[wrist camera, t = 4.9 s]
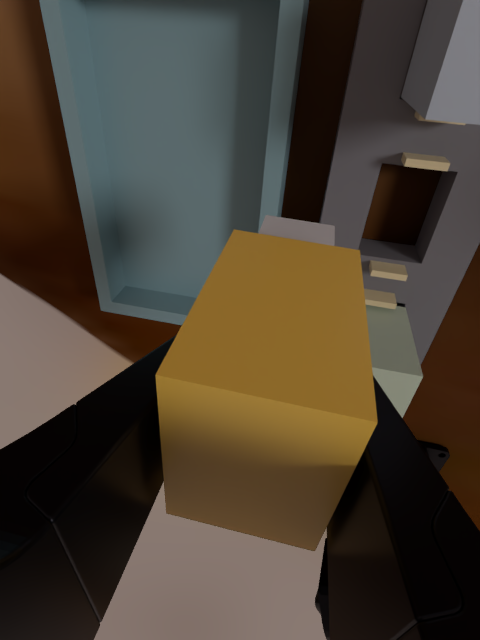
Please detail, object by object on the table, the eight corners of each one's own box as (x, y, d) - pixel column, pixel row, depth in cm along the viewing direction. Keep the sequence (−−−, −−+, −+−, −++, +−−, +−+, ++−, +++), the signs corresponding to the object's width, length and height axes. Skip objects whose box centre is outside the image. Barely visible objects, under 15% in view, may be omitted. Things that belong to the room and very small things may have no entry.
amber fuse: (324, 326, 13) (314, 551, 7) (239, 310, 13) (166, 513, 8) (356, 215, 10) (377, 422, 5) (250, 198, 11) (155, 374, 5)
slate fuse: (469, 97, 15) (545, 131, 10) (394, 90, 16) (425, 119, 10) (519, -37, 13) (659, -95, 7) (428, -41, 13) (494, -99, 8)
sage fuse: (379, 340, 23) (392, 437, 18) (330, 331, 24) (327, 424, 18) (400, 285, 21) (422, 376, 15) (345, 276, 21) (347, 362, 16)
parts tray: (268, 314, 24) (261, 339, 22) (119, 289, 25) (101, 310, 23) (312, -28, 14) (308, -39, 12) (68, -41, 15) (28, -53, 13)
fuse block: (405, 364, 24) (412, 400, 22) (295, 344, 25) (290, 376, 22) (612, -99, 12) (680, -134, 9) (383, -106, 13) (393, -138, 10)
